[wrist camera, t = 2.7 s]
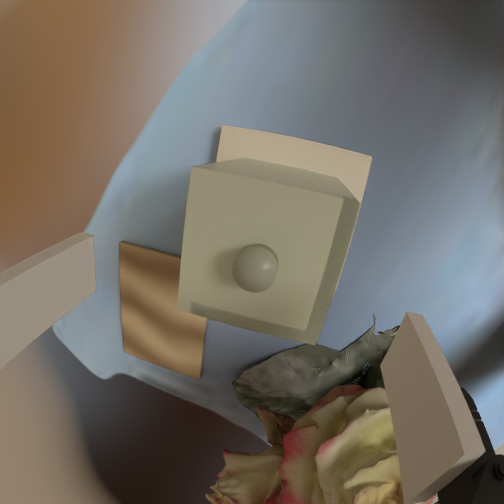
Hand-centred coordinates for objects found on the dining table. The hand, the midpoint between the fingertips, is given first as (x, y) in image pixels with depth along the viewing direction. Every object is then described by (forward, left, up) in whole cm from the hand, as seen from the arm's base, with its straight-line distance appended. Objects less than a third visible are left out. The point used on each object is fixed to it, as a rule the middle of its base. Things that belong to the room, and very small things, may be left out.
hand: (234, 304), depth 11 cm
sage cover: (0, 0, -16) cm, 16 cm away
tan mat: (+15, -11, -17) cm, 25 cm away
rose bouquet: (+23, +12, -17) cm, 31 cm away
